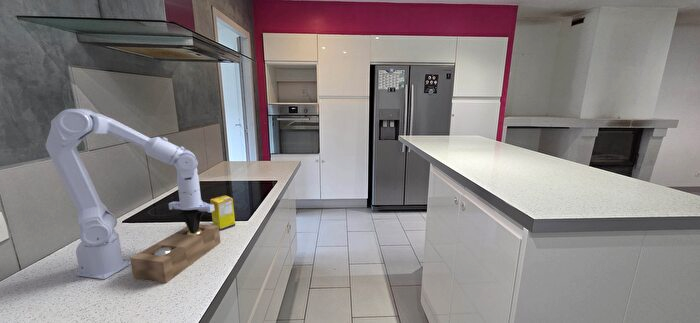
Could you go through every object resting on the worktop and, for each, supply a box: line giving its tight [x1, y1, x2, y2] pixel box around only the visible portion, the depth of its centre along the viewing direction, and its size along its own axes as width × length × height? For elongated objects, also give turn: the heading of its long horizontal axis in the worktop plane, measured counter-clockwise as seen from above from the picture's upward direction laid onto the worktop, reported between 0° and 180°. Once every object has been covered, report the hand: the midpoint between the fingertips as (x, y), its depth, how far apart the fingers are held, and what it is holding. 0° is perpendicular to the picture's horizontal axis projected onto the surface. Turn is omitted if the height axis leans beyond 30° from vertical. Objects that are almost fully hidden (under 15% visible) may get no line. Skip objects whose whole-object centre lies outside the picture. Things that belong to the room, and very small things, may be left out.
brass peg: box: [187, 229, 202, 235], centre depth 90 cm, size 4×4×6 cm
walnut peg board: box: [129, 223, 221, 284], centre depth 84 cm, size 10×22×6 cm, turn 169°
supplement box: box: [209, 195, 236, 232], centre depth 106 cm, size 6×6×11 cm
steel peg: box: [154, 247, 171, 256], centre depth 78 cm, size 4×4×6 cm
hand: (194, 231), depth 89 cm, fingers closed, pressing on brass peg
